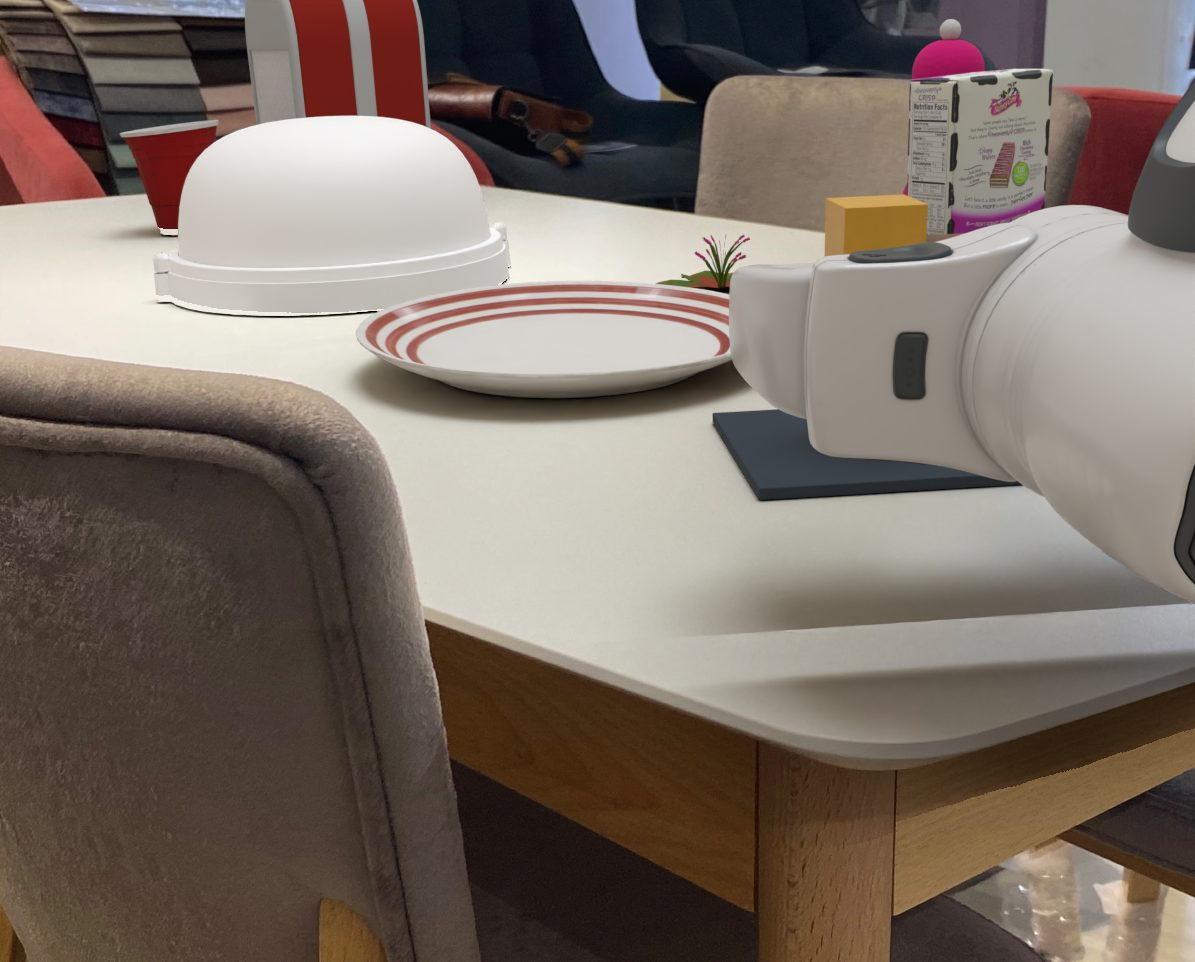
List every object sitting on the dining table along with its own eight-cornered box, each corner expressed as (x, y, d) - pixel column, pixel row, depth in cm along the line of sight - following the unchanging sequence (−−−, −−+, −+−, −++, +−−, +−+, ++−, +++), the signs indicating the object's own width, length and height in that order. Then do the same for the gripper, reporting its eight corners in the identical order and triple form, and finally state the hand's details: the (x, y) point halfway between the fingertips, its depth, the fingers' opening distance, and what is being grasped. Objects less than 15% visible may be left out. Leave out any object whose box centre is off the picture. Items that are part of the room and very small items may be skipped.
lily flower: (620, 292, 119) (619, 236, 117) (737, 275, 125) (736, 221, 123) (705, 314, 109) (705, 252, 108) (827, 294, 115) (828, 235, 113)
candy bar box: (991, 279, 118) (1005, 68, 112) (1041, 286, 115) (1058, 68, 108) (897, 298, 112) (906, 75, 106) (946, 306, 109) (959, 76, 102)
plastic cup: (153, 228, 169) (137, 120, 164) (244, 224, 168) (230, 117, 164) (121, 241, 159) (103, 128, 154) (217, 238, 158) (202, 124, 154)
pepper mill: (891, 267, 125) (901, 21, 118) (902, 254, 132) (912, 19, 124) (976, 268, 123) (992, 18, 116) (983, 255, 130) (998, 17, 122)
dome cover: (461, 246, 146) (451, 100, 141) (569, 290, 120) (561, 114, 115) (137, 277, 135) (113, 120, 130) (180, 333, 109) (151, 140, 104)
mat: (956, 409, 81) (957, 398, 81) (1049, 483, 68) (1050, 470, 68) (712, 423, 80) (712, 412, 80) (759, 500, 68) (759, 488, 67)
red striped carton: (439, 200, 183) (422, -30, 173) (309, 214, 175) (283, -27, 165) (386, 190, 197) (367, -24, 186) (262, 203, 188) (235, -21, 178)
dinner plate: (864, 356, 94) (865, 305, 93) (558, 448, 77) (555, 387, 76) (576, 309, 113) (575, 266, 111) (278, 375, 95) (272, 325, 94)
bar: (894, 427, 76) (904, 194, 72) (916, 448, 72) (928, 203, 68) (820, 431, 76) (825, 198, 71) (838, 452, 72) (845, 207, 68)
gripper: (1398, 234, 46) (1197, 188, 59) (772, 266, 45) (706, 212, 58) (1366, 424, 49) (1180, 340, 61) (770, 459, 47) (707, 366, 60)
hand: (946, 278), depth 60 cm, fingers open, 8 cm apart
